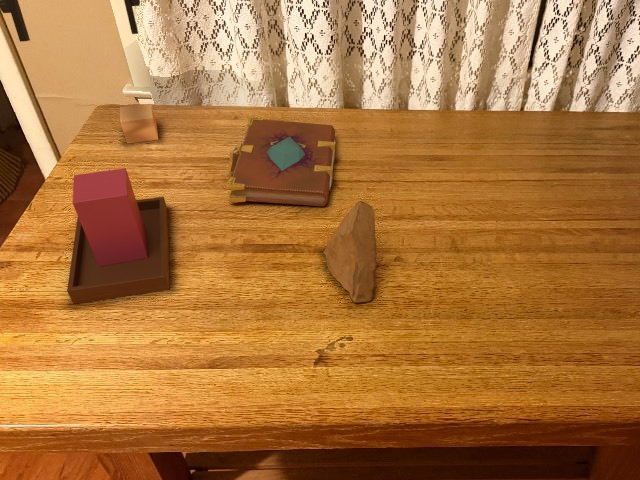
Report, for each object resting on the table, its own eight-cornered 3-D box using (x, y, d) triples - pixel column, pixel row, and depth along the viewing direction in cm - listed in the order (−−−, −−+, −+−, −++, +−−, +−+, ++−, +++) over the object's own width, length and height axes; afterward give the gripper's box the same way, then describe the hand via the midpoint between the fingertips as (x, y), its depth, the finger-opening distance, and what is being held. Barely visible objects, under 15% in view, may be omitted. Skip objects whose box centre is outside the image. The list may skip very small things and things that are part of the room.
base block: (126, 143, 98) (120, 121, 95) (126, 129, 101) (119, 107, 98) (158, 139, 99) (152, 117, 96) (156, 125, 102) (151, 103, 100)
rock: (393, 298, 72) (404, 239, 78) (349, 256, 67) (365, 196, 73) (327, 320, 78) (342, 263, 84) (282, 282, 72) (302, 224, 78)
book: (338, 131, 106) (338, 105, 102) (329, 214, 88) (330, 186, 85) (245, 123, 104) (242, 96, 101) (217, 206, 87) (213, 177, 83)
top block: (99, 266, 75) (72, 202, 68) (99, 238, 79) (73, 174, 72) (148, 258, 77) (127, 194, 70) (146, 230, 81) (125, 167, 74)
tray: (84, 219, 83) (78, 206, 82) (167, 209, 86) (163, 196, 84) (73, 304, 72) (66, 290, 70) (169, 289, 74) (165, 276, 73)
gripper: (-109, -170, 63) (-32, 45, 73) (139, -164, 70) (178, 31, 80) (-85, -153, 69) (-17, 43, 79) (140, -149, 77) (177, 30, 86)
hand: (81, 37), depth 79 cm, fingers open, 13 cm apart
